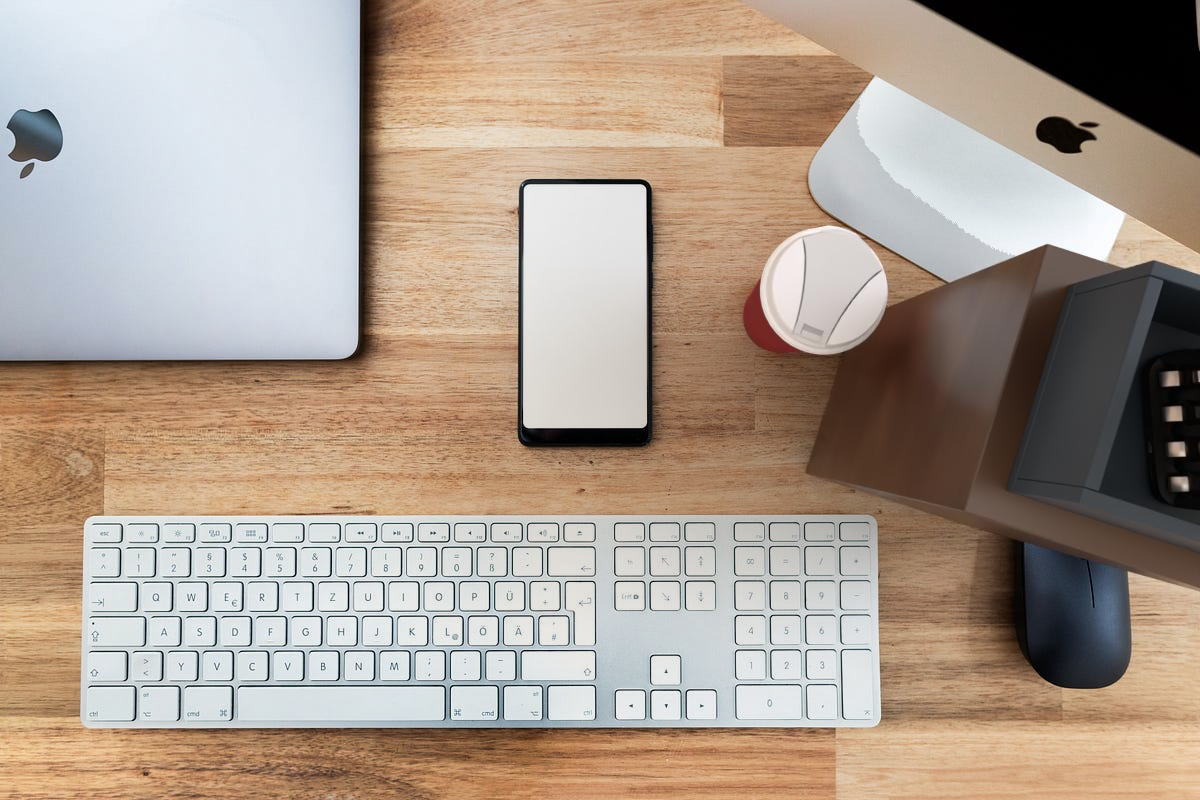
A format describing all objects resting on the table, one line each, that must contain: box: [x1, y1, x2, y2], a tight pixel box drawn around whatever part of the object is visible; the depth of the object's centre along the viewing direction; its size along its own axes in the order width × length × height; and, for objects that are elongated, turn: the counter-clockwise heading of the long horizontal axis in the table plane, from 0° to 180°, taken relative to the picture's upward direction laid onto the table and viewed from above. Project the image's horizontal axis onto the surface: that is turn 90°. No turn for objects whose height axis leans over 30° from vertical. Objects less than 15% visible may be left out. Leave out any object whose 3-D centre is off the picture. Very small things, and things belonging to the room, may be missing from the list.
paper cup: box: [742, 224, 888, 355], centre depth 58 cm, size 8×8×14 cm
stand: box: [805, 243, 1200, 593], centre depth 50 cm, size 12×14×28 cm
